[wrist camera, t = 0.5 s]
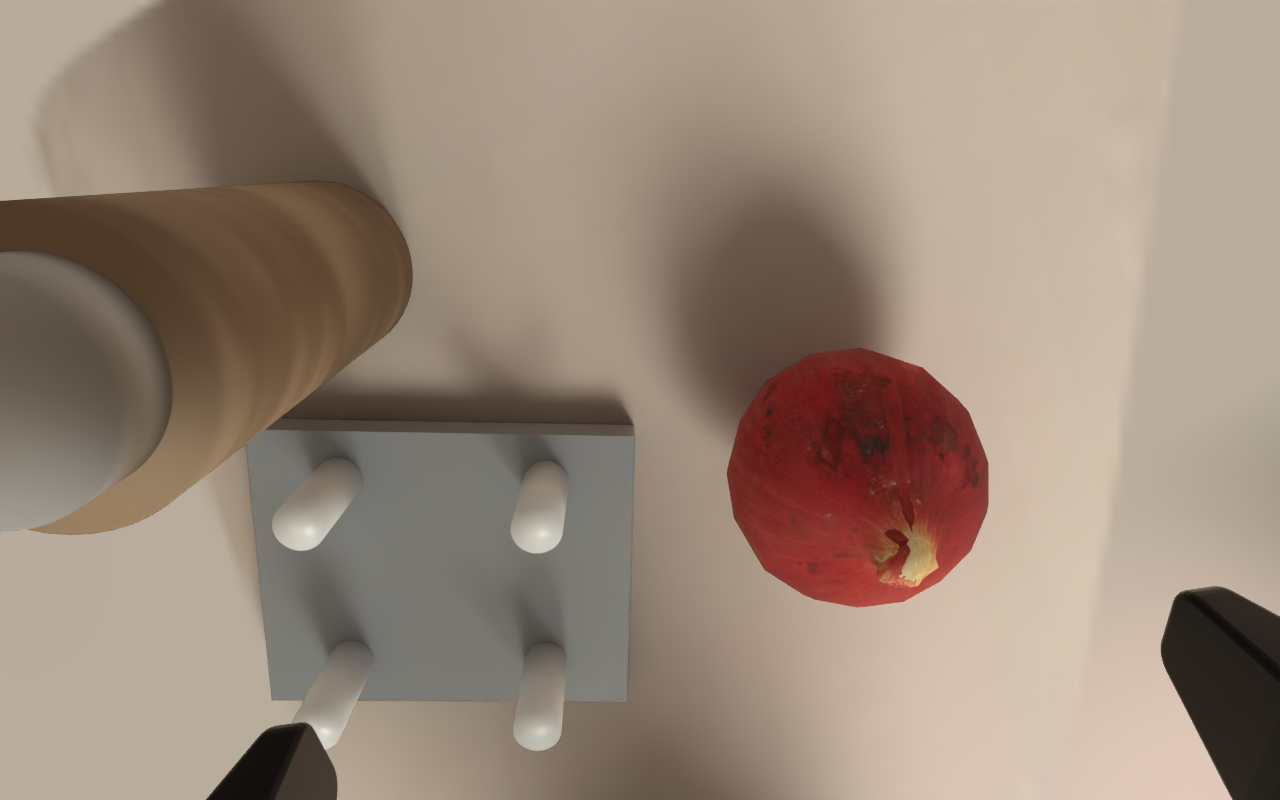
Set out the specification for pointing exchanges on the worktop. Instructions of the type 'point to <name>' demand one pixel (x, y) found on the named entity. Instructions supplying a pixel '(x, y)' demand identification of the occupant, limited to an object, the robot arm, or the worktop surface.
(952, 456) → the pomegranate
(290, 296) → the pepper mill
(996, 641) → the worktop surface
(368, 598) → the pin tray
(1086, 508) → the worktop surface
